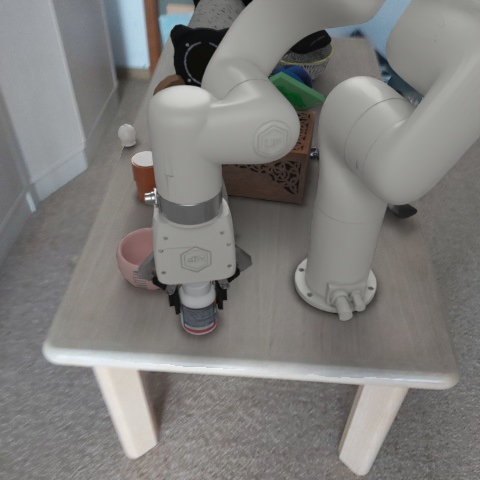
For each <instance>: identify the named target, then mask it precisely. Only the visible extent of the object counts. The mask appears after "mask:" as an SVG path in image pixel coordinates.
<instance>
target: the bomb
mask: <svg viewBox="0 0 480 480" xmlns="http://www.w3.org/2000/svg"><path fill="white" fill-rule="evenodd" d="M281 71H282V72H283V73H285V74H287V75H289V76H290V77H292V78H294V79H295V80H297V81H299V82H301V83H302V84H304V85H306V86H308V87H309V88H311V89H313V90H314V85H313V80H311V78H310V76H309V74H308V73H307V72H306V71H305V70H304V69H303V68H301V67H299V66H297V65H285V66H282V67H280V68H278V69H277V70H276V71H275V72H272V73H271V74H270V77H272V76H274V75H276V74H278V73H280V72H281Z"/></svg>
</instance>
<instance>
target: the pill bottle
mask: <svg viewBox="0 0 480 480" xmlns="http://www.w3.org/2000/svg"><path fill="white" fill-rule="evenodd" d="M178 294H179V303H180V312H181V313H180V320H181V327H182V328H183V329H184V330H185V331H186V332H187V333H189V334H191V335H194V336H204V335H207V334H210V333H211V332H212V331H214V330H215V329H216V328H217V325H218V321H219V320H218V307H217V296H216V289H215V285H214V284H212V281H204V282H194V283H184V284H180V288H178Z"/></svg>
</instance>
